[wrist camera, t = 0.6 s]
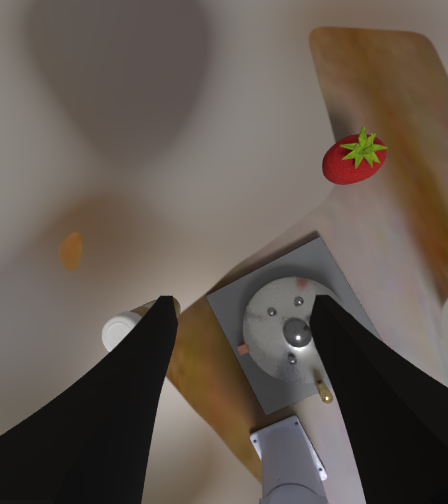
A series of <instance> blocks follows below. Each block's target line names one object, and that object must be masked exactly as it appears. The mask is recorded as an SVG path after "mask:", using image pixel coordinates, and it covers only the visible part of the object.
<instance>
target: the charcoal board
mask: <svg viewBox="0 0 448 504" xmlns="http://www.w3.org/2000/svg"><path fill="white" fill-rule="evenodd" d="M292 276H293V277H302V278H307V279H310V280H313V281H316V282H318V283H320V284H322V285H324V286H325V287H327V288H328V289H330V290H331V291H332V292H333V293H334V294H335V295H336V296H337V297H338V298H339V299H340V301H341V302H342V303H343V305H344V307H345V308H346V310H347V312H348V313H350V314H351V315H352V316H353V317H354V318H355V319H356V320H357V321H358V322H359V323H361V324H362V325H363V326H364V327H365V328H366V329H367V330H369V331H370V332H371V333H372V334H373V335H375V336H376V337H377V338H378V339H380V337H379V336H378V334H377V332H376V330H375V329H374V327H373V325H372V324H371V322H370V320H369V318H368V317H367V315H366V313H365V312H364V310H363V308H362V306H361V305H360V303H359V301H358V300H357V298H356V296H355V294H354V293H353V291H352V289H351V288H350V286H349V284H348V282H347V281H346V279H345V277H344V276H343V274H342V272H341V271H340V269H339V267H338V265H337V264H336V262H335V260H334V259H333V257H332V255H331V253H330V252H329V250H328V248H327V247H326V245H325V243H324V241H323V240H322V238H321V236H320V237H318V238H316V239H314V240H312V241H310V242H308V243H306V244H305V245H303V246H301V247H299V248H297V249H295V250H293V251H291V252H289V253H287V254H285V255H284V256H282V257H280V258H278V259H276V260H274V261H272V262H270V263H268V264H266V265H264V266H262V267H261V268H259V269H257V270H255V271H253V272H251V273H249V274H247V275H245V276H243V277H241V278H240V279H238V280H236V281H234V282H232V283H230V284H228V285H226V286H224V287H222V288H220V289H218V290H217V291H215V292H213V293H211V294H209V295H207V296H206V298H207V300H208V302H209V304H210V306H211V308H212V310H213V312H214V314H215V316H216V318H217V320H218V322H219V324H220V326H221V328H222V330H223V332H224V334H225V336H226V338H227V339H228V341H229V343H230V345H231V347H232V349H233V351H234V353H235V355H236V357H237V359H238V361H239V363H240V365H241V367H242V369H243V371H244V373H245V375H246V377H247V379H248V381H249V383H250V385H251V387H252V389H253V391H254V393H255V395H256V397H257V399H258V401H259V403H260V405H261V407H262V409H263V411H264V413H265V414H266V415H269V414H271V413H273V412H275V411H278V410H280V409H282V408H285V407H287V406H289V405H291V404H294V403H296V402H298V401H300V400H303V399H305V398H307V397H310V396H312V395H314V394H316V393H319V392H318V390H317V388H316V386H315V384H314V382H313V383H307V384H294V383H288V382H284V381H281V380H279V379H276V378H274V377H273V376H271V375H269V374H268V373H266V372H265V371H264V370H262V369H261V368H260V367H259V366H258V365H257V363H256V362H255V361H254V360H253V358H252V357H251V355H250V353H249V352H247V353H244V354H242V355H240V353H239V350H238V348H237V346H238V343H240V342H243V341H244V336H243V319H244V314H245V310H246V307H247V305H248V303H249V301H250V299H251V298H252V296H253V295H254V294H255V293H256V291H257V290H259V289H260V288H261V287H262V286H264V285H265V284H267V283H268V282H270V281H272V280H275V279H278V278H283V277H292ZM380 340H381V339H380ZM323 380H324V382H325V384H326V385H327V387H328V388H330V387H332V385H331V383H330V380H329V378H328V377H326V378H324V379H323Z"/></svg>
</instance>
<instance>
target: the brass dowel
mask: <svg viewBox="0 0 448 504" xmlns="http://www.w3.org/2000/svg"><path fill="white" fill-rule="evenodd" d="M314 384H315V386H316V388H317V390H318V392H319V394H320V396H321V398H322V400H323V402H325V403H331V402H332V401H333V396H332V394H331V392H330V391H329V389H328V387H327V385H326V384H325V382H324V380H323V379H322V380H319V381H317V382H314Z"/></svg>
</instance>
